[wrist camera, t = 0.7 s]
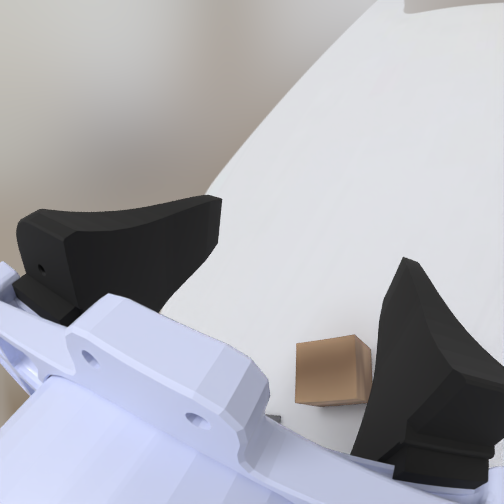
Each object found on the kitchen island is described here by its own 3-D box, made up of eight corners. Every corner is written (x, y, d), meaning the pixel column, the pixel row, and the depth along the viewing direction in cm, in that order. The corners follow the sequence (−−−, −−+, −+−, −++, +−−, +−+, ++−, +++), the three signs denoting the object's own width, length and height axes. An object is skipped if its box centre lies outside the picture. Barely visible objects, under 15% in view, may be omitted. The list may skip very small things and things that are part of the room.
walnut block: (372, 402, 22) (356, 398, 19) (320, 406, 24) (294, 402, 21) (371, 349, 24) (354, 334, 21) (321, 356, 27) (296, 343, 23)
